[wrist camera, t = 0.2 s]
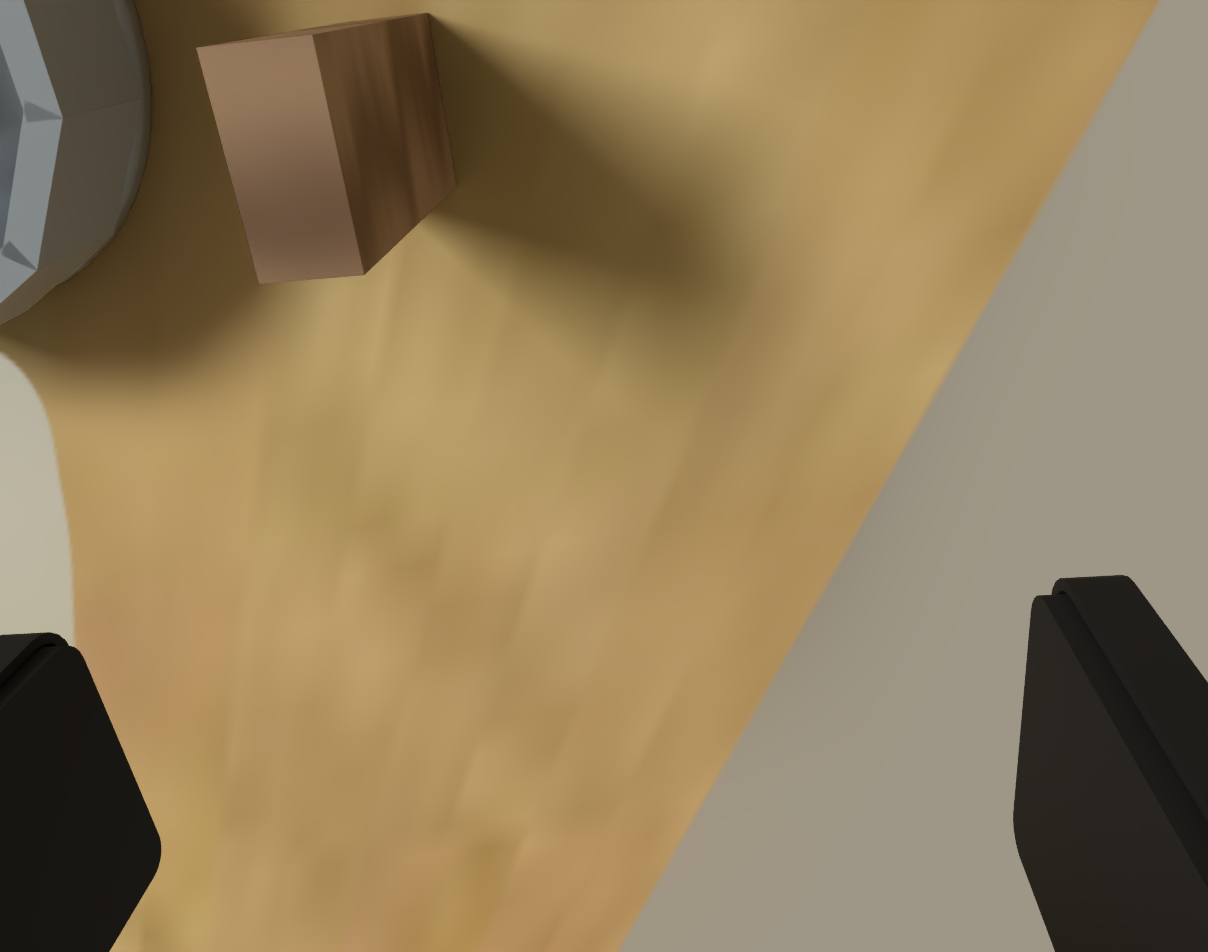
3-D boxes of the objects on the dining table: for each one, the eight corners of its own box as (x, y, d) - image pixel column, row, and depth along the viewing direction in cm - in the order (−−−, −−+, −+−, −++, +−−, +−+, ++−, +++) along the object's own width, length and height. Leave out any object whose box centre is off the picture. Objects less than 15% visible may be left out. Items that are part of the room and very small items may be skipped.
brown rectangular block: (345, 22, 35) (195, 47, 25) (427, 12, 35) (312, 34, 24) (380, 193, 38) (258, 283, 27) (456, 187, 38) (364, 275, 27)
